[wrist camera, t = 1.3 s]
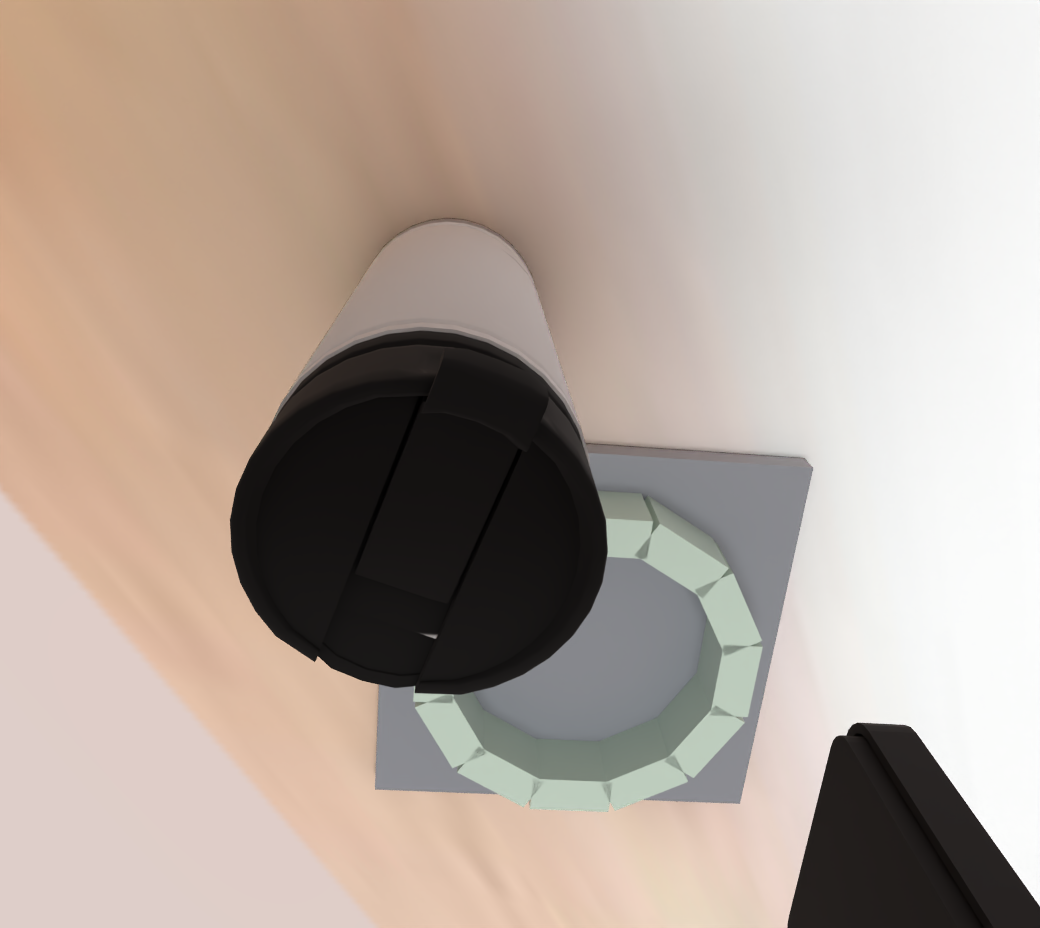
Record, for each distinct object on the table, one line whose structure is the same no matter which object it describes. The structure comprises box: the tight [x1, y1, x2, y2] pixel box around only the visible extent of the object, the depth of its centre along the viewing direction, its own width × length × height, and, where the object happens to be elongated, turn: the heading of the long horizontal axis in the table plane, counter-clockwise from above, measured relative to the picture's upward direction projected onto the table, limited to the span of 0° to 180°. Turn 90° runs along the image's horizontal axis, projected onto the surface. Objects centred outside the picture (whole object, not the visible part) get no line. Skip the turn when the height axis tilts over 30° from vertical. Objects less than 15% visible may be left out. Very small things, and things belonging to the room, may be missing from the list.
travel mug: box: [230, 218, 608, 695], centre depth 24 cm, size 6×7×20 cm
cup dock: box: [375, 444, 813, 812], centre depth 36 cm, size 16×16×4 cm
